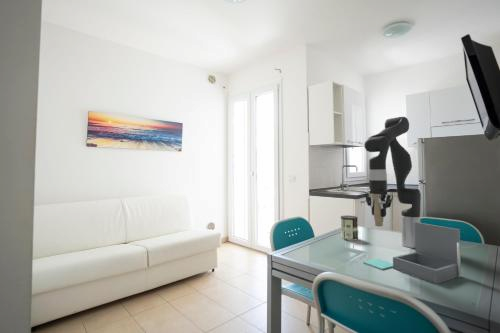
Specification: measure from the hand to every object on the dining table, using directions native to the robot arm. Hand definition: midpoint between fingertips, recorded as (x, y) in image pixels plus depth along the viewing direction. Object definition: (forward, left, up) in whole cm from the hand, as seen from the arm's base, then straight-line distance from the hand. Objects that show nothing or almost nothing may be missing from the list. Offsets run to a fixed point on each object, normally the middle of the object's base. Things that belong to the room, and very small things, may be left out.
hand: (378, 215), depth 121 cm
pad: (0, 0, -23) cm, 23 cm away
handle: (0, 0, -5) cm, 5 cm away
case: (-9, +15, -23) cm, 29 cm away
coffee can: (-24, -41, -23) cm, 53 cm away
